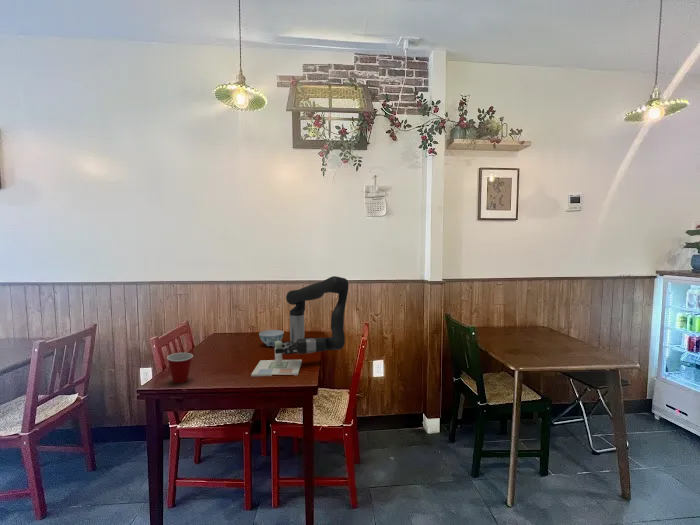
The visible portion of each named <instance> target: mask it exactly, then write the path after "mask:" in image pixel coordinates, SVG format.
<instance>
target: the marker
mask: <svg viewBox="0 0 700 525" xmlns="http://www.w3.org/2000/svg"><path fill="white" fill-rule="evenodd" d="M282 342H283V341H282V340H281V341H275V349H280V348H282ZM275 349H274V350H275ZM274 360H275V366H281V365H282V360H283V353H277V354H276V353H275V352H274Z"/></svg>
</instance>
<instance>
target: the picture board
mask: <svg viewBox="0 0 700 525" xmlns="http://www.w3.org/2000/svg"><path fill="white" fill-rule="evenodd" d="M302 363H303V360H302V359H282V365H281V366H275V359H269V360H267V359H266V360H265V359H263V360H261V359H260V360H259V362H258V363H257V365H256V366H255V368H254V369H253V371H252V373H250V374H251V375H250V377H273V376H272V375H294V376H298V375H299V372H300V370H301V366H302Z"/></svg>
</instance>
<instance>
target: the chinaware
mask: <svg viewBox="0 0 700 525" xmlns="http://www.w3.org/2000/svg"><path fill="white" fill-rule="evenodd" d="M284 334H285V332H284V331H283V330H280V329H268V330H263V331H260V332H259V333H258V336H259V338H260V340H261V342H262V343H264V344H265V346H267V347H269V346H272V347H274V344H275V341H282V339H283V337H284Z"/></svg>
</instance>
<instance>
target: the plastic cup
mask: <svg viewBox="0 0 700 525" xmlns="http://www.w3.org/2000/svg"><path fill="white" fill-rule="evenodd" d="M192 358H194V354H192V353H190V352H175V353H172V354H169V355H168V356H167V357H166V360H167V361H168V365H169V369H170V374H171V378H172V382H173V384H176V383H179V384H183V382H184V383H186V382H187V381H188V379H189V373H190V367H191V362H192Z"/></svg>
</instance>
